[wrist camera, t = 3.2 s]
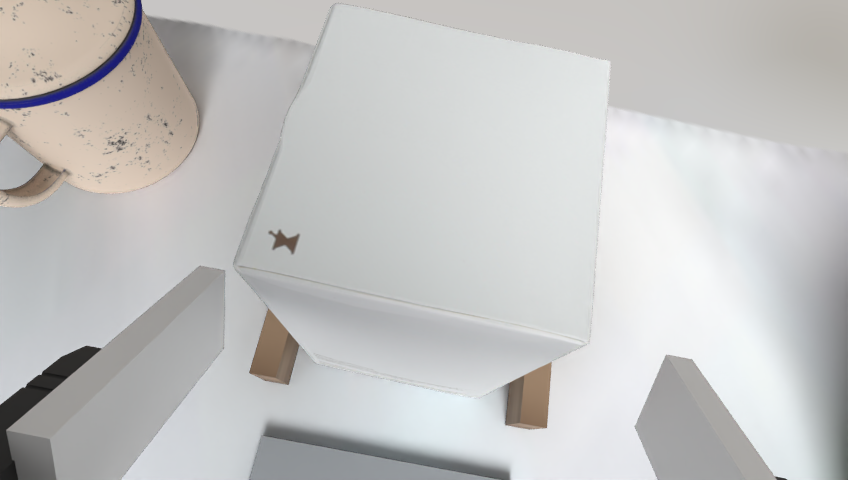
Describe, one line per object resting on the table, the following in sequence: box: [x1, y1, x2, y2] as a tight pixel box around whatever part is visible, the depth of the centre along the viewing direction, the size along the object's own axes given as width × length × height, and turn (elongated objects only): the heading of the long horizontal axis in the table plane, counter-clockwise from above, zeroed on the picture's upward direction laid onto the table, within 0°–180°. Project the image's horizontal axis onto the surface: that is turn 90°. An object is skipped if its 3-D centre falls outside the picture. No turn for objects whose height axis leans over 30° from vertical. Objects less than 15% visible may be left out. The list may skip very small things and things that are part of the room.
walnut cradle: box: [249, 308, 552, 429], centre depth 26 cm, size 12×13×3 cm
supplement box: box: [233, 3, 611, 398], centre depth 20 cm, size 9×9×15 cm
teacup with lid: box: [0, 0, 199, 208], centre depth 24 cm, size 12×9×12 cm
